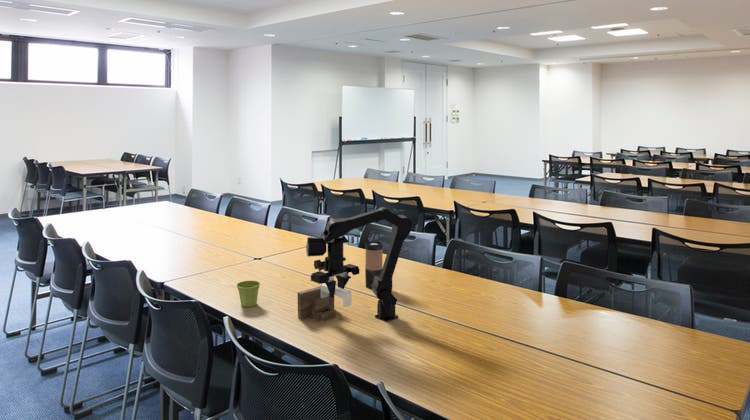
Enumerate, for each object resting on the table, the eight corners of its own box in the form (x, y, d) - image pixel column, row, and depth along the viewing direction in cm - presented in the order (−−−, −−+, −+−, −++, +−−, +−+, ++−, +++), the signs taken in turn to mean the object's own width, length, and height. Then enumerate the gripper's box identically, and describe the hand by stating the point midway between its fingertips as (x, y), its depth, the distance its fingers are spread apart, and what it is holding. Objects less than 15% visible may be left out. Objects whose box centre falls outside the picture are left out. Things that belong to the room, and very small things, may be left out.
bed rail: (351, 305, 186) (351, 291, 185) (345, 307, 184) (345, 293, 183) (327, 295, 196) (326, 283, 195) (320, 297, 194) (320, 284, 193)
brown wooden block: (345, 313, 200) (345, 288, 198) (311, 324, 189) (311, 298, 187) (331, 307, 206) (330, 283, 204) (297, 317, 195) (297, 292, 193)
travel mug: (385, 285, 234) (385, 242, 230) (376, 290, 227) (376, 245, 224) (371, 283, 238) (371, 240, 234) (361, 287, 231) (362, 243, 228)
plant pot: (264, 306, 207) (264, 285, 206) (241, 310, 202) (240, 289, 200) (255, 299, 215) (255, 279, 213) (233, 303, 209) (232, 282, 208)
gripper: (340, 246, 199) (341, 285, 202) (301, 255, 186) (301, 296, 189) (360, 251, 191) (360, 292, 194) (320, 261, 178) (320, 304, 181)
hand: (335, 296), depth 190 cm, fingers closed on bed rail, 3 cm apart
